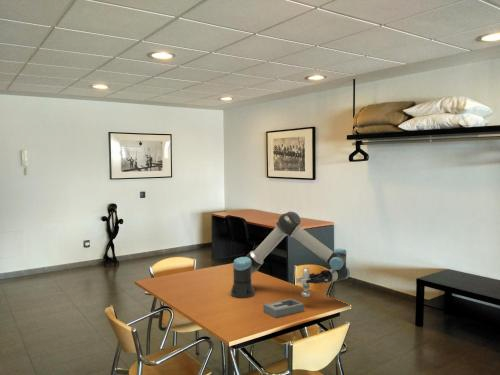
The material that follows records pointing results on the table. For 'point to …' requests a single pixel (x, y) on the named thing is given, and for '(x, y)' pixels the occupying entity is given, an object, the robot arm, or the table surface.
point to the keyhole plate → (283, 307)
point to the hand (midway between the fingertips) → (299, 281)
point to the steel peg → (305, 276)
